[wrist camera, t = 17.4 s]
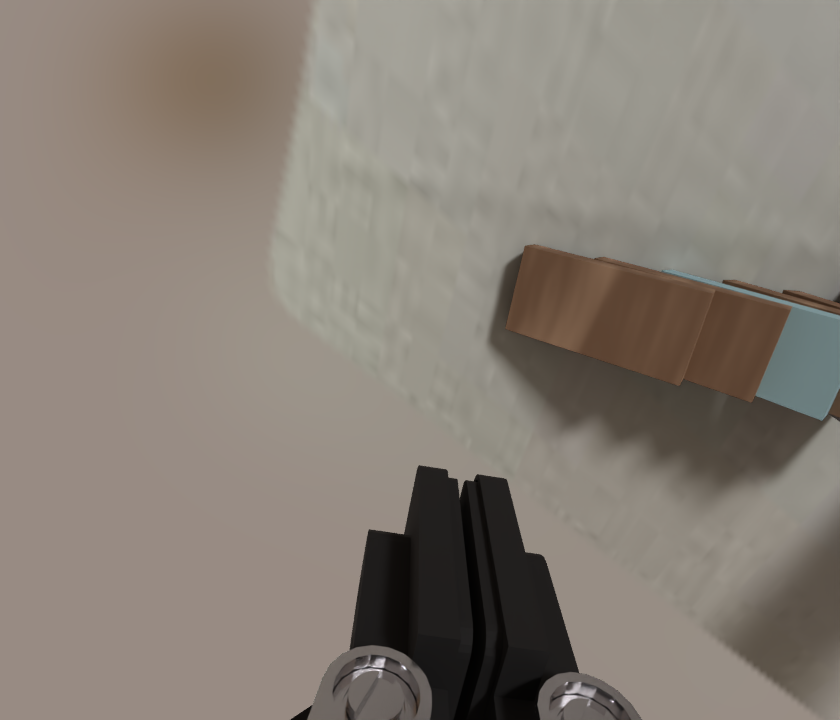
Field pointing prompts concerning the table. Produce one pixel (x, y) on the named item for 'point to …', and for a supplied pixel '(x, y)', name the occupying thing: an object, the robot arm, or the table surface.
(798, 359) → the domino
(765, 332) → the domino
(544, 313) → the domino
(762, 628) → the table surface
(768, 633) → the table surface
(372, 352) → the table surface
